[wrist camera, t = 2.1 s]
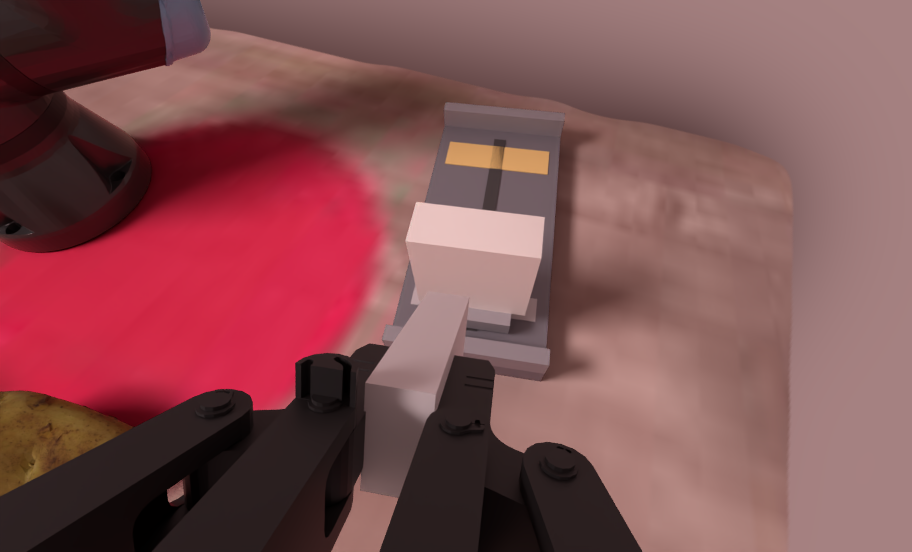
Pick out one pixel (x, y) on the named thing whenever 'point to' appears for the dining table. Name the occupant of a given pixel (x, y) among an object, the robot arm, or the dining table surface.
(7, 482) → the potato
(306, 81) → the dining table surface
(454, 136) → the fader deck
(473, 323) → the fader knob
